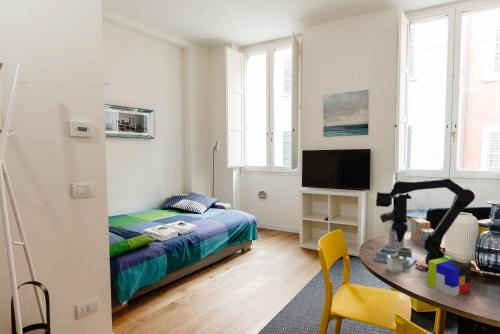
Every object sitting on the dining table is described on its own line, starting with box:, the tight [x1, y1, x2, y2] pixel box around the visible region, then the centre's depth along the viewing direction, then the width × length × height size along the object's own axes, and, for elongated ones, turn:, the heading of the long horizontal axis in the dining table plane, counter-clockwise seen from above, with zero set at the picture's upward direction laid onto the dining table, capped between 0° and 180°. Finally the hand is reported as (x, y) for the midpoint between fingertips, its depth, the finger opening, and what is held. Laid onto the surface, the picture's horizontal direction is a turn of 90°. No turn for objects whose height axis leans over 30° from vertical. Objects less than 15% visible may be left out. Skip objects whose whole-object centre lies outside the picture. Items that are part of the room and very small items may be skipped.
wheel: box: [397, 247, 413, 258], centre depth 145 cm, size 6×6×2 cm
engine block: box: [386, 254, 404, 273], centre depth 139 cm, size 5×4×7 cm
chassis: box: [374, 247, 418, 269], centre depth 150 cm, size 16×11×4 cm
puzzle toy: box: [427, 256, 472, 297], centre depth 120 cm, size 10×10×10 cm
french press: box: [384, 220, 407, 249], centre depth 172 cm, size 10×12×25 cm
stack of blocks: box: [410, 217, 435, 249], centre depth 175 cm, size 21×6×12 cm, turn 172°
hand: (399, 240), depth 146 cm, fingers open, 5 cm apart
